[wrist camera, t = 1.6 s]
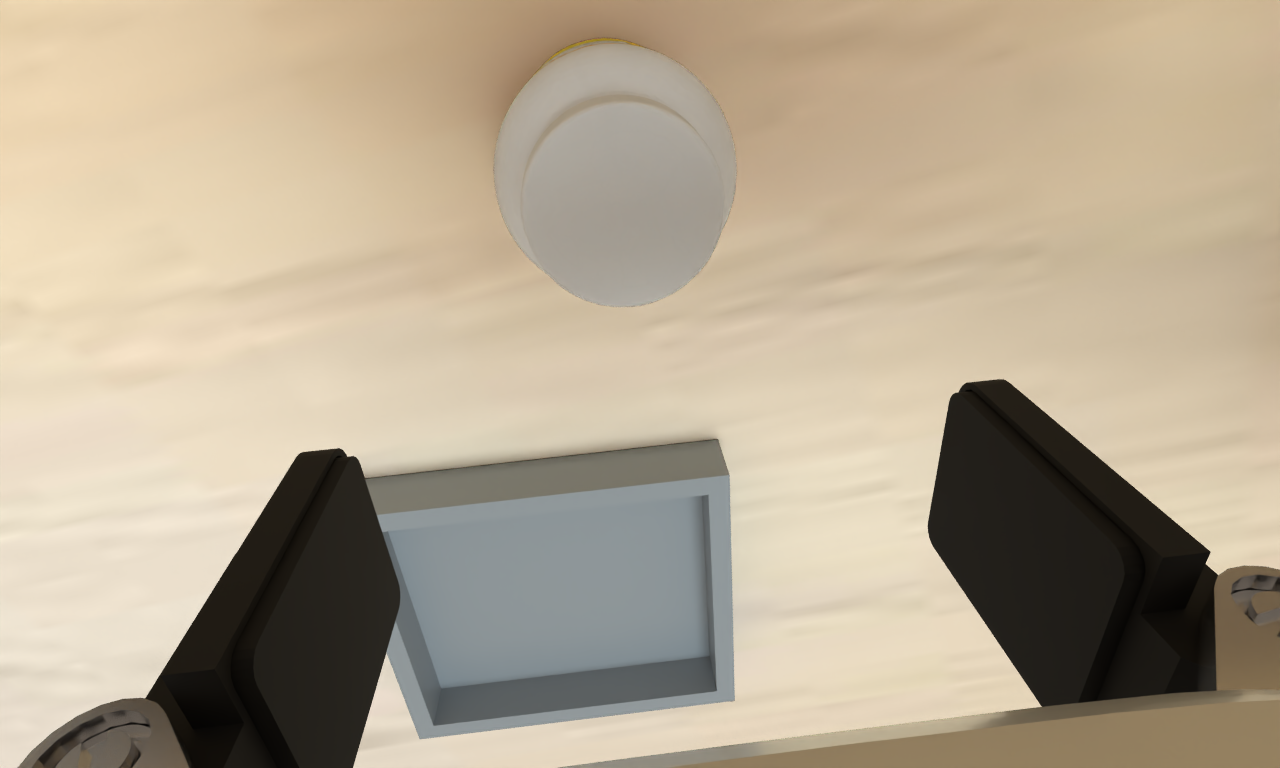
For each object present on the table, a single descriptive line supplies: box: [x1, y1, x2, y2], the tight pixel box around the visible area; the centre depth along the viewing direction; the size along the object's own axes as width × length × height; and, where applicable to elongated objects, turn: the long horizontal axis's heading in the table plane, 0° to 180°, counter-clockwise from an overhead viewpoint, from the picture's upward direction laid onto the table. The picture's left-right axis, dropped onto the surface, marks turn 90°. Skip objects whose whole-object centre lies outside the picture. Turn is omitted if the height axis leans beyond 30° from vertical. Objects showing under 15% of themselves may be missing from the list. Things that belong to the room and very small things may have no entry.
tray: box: [365, 439, 735, 739], centre depth 36 cm, size 18×16×3 cm
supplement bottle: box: [494, 38, 736, 307], centre depth 21 cm, size 7×7×13 cm
